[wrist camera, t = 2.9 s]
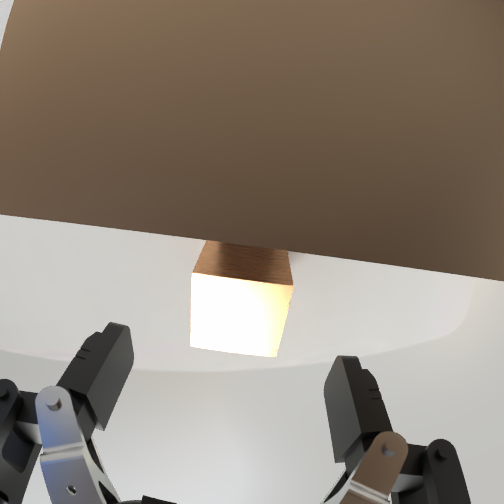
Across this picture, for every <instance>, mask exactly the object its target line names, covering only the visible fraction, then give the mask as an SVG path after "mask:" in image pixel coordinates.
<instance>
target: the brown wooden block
mask: <svg viewBox="0 0 504 504" xmlns="http://www.w3.org/2000/svg"><path fill="white" fill-rule="evenodd" d="M0 214H1V215H9V216H18V217H26V218H34V219H43V220H51V221H59V222H68V223H76V224H84V225H92V226H100V227H108V228H116V229H124V230H132V231H140V232H148V233H156V234H164V235H172V236H179V237H187V238H195V239H202V240H210V241H218V242H225V243H233V244H241V245H248V246H256V247H263V248H271V249H278V250H286V251H293V252H300V253H308V254H315V255H323V256H330V257H337V258H344V259H352V260H359V261H366V262H373V263H380V264H388V265H395V266H402V267H409V268H416V269H423V270H430V271H437V272H444V273H451V274H458V275H464V276H471V277H479V278H485V279H492V280H498V281H504V0H14V3H13V6H12V9H11V12H10V15H9V18H8V22H7V25H6V29H5V33H4V37H3V41H2V45H1V49H0Z"/></svg>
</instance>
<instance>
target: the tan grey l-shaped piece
mask: <svg viewBox="0 0 504 504" xmlns="http://www.w3.org/2000/svg"><path fill="white" fill-rule="evenodd" d="M293 287H294V286H293V280H292V274H291V269H290V263H289V258H288V253H287V251H286V250H278V249H271V248H263V247H256V246H248V245H241V244H233V243H225V242H218V241H210V240H207V241H206V243H205V245H204V247H203V249H202V252H201V254H200V256H199V259H198V261H197V263H196V265H195V268H194V270H193V272H192V299H191V346H193V347H199V348H206V349H213V350H220V351H227V352H234V353H243V354H251V355H261V356H271V357H276V354H277V350H278V346H279V343H280V339H281V335H282V331H283V327H284V323H285V319H286V315H287V311H288V307H289V303H290V299H291V295H292V291H293Z"/></svg>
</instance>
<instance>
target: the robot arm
mask: <svg viewBox="0 0 504 504" xmlns="http://www.w3.org/2000/svg"><path fill="white" fill-rule="evenodd" d="M133 361H134V352H133V346H132V340H131V334H130V329H129V327H128V326H126V325H121V324H117V323H113V322H110V323H108V325H107V326H106V328H105V329H104V331H103V332H102V333H100V332H95V333H94V334H93V335H91V336H90V337H88V338H87V339H86V340H85V342H84V343H83V345H82V346H81V349H80V350H79V351H78V352H77V354H76V357H74V358H73V360H72V361H71V363H70V364H69V366H68V368H67V369H66V371H65V372H64V374H63V376H62V377H61V379H60V380H59V382H58V383H57V385H56V386H49V387H46V388H44V389H42V390H41V391H40V392H39V393H33V392H25V391H19V390H18V388H17V386H16V385H15V384H14V383H13V382H12V381H11V380H8V379H1V380H0V504H22V500H23V497H24V494H25V491H26V488H27V485H28V482H29V479H30V476H31V474H32V471H33V468H34V465H35V463H36V460H37V457H38V455H39V453H40V450H41V448H42V446H43V454H41V455H40V464H41V468H42V472H43V476H44V479H45V483H46V486H47V490H48V493H49V496H50V499H51V502H52V504H176V503H172V502H167V501H163V500H159V499H155V498H151V497H147V496H144V495H143V497H142V500H134V501H133V500H131V501H123V502H121V500H120V498H119V496H118V494H117V492H116V490H115V488H114V487H113V485H112V483H111V482H110V480H109V478H108V476H107V474H106V472H105V469H104V467H103V464H102V462H101V459H100V456H99V454H98V451H97V448H96V446H95V443H94V440H93V437H92V433H93V431H94V428H97V429H99V430H103V431H104V430H105V428H106V425H107V423H108V420H109V418H110V416H111V413H112V411H113V409H114V407H115V404H116V402H117V399H118V397H119V395H120V393H121V391H122V388H123V386H124V383H125V382H126V379H127V377H128V375H129V373H130V371H131V369H132V366H133ZM324 398H325V404H326V409H327V415H328V421H329V427H330V433H331V439H332V446H333V452H334V459H335V463H340V462H345V465H346V469H345V470H344V471H343V472H342V474H341V475H340V477H339V478H338V480H337V481H336V483H335V484H334V486H333V487H332V488H331V490H330V491H329V492H328V494H327V495H326V497H325V498H324V499H323V501H322V502H321V503H320V504H390V501H388V496H389V494H390V492H391V499H392V504H471V502H470V498H469V494H468V490H467V486H466V482H465V479H464V475H463V472H462V468H461V465H460V462H459V459H458V456H457V453H456V450H455V448H454V446H453V445H452V444H451V443H450V442H449V441H447V440H444V439H437V440H434V441H433V442H431V443H430V444H429V445H428V446H420V445H413V444H408V443H407V442H406V440H405V439H404V438H403V437H402V436H401V435H400V434H398V433H395V432H393V430H392V427H391V423H390V420H389V417H388V414H387V411H386V408H385V405H384V402H383V400H382V397H381V393H380V391H379V388H378V385H377V382H376V379H375V378H374V376H373V375H372V374H371V373H370V372H369V371H368V369H362V368H361V365H360V362H359V359H358V357H357V356H337V357H336V359H335V361H334V364H333V366H332V368H331V370H330V372H329V375H328V377H327V379H326V381H325V386H324Z"/></svg>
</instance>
